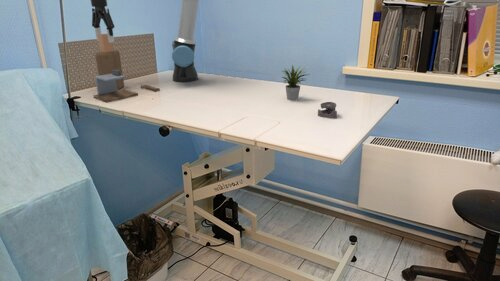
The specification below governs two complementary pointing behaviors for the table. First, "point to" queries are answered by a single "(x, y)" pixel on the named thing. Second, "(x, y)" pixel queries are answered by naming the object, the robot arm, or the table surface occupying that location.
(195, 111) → the table surface
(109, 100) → the puzzle board
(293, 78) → the house plant
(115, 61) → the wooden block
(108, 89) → the sliding cover
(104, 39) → the terracotta block
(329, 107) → the dental mold
